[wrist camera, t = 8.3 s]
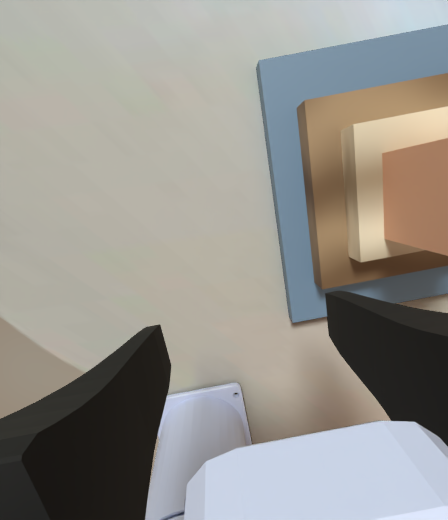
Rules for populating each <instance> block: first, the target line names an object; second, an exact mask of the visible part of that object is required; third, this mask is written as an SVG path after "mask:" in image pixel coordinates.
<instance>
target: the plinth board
mask: <svg viewBox="0 0 448 520" xmlns="http://www.w3.org/2000/svg"><path fill="white" fill-rule="evenodd" d="M256 70H257V78H258V85H259V93H260V101H261V108H262V116H263V123H264V131H265V138H266V146H267V153H268V161H269V168H270V176H271V183H272V191H273V199H274V206H275V214H276V221H277V229H278V236H279V244H280V251H281V259H282V266H283V274H284V281H285V289H286V297H287V304H288V312H289V317H290V319H291V321H292V322H293V323H295V322H300V321H305V320H311V319H316V318H321V317H326V316H327V309H326V298H325V293H328V292H333V291H339V290H340V291H346V292H351V293H355V294H359V295H363V296H366V297H370V298H374V299H378V300H382V301H385V302H390V303H394V304H395V303H400V302H405V301H410V300H416V299H421V298H426V297H431V296H437V295H442V294H447V293H448V256H446V255H442V254H439V253H435V252H431V251H427V250H424V249H420V248H416V247H413V246H409V245H405V244H401V243H398V242H394V241H390V240H386V239H384V206H383V169H382V153H385V152H389V151H394V150H398V149H402V148H407V147H411V146H415V145H419V144H424V143H428V142H432V141H437V140H441V139H445V138H448V25H443V26H438V27H432V28H427V29H422V30H417V31H411V32H406V33H401V34H396V35H390V36H385V37H380V38H374V39H369V40H364V41H359V42H353V43H348V44H343V45H338V46H332V47H327V48H322V49H317V50H311V51H306V52H301V53H296V54H290V55H285V56H280V57H275V58H269V59H264V60H259V62H258V64H257V67H256Z"/></svg>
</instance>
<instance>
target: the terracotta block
mask: <svg viewBox="0 0 448 520" xmlns="http://www.w3.org/2000/svg"><path fill="white" fill-rule="evenodd" d="M382 169H383V206H384V239H386V240H390V241H394V242H398V243H401V244H405V245H409V246H413V247H416V248H420V249H424V250H427V251H431V252H435V253H439V254H442V255H446V256H448V138H445V139H441V140H437V141H432V142H428V143H424V144H419V145H415V146H411V147H407V148H402V149H398V150H394V151H389V152H385V153H382Z"/></svg>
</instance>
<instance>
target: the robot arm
mask: <svg viewBox="0 0 448 520" xmlns="http://www.w3.org/2000/svg"><path fill="white" fill-rule="evenodd" d="M325 298H326V309H327V320H328V331H329V336H330V338H331V340H332V342H333V343H334V345H335V347H336V348H337V350H338V351H339V353H340V355H341V356H342V357H343V358H344V360H345V361H346V362H347V364H348V365H349V366H350V367H351V369H352V370H353V371H354V372H355V373H356V375H357V376H358V377H359V378H360V380H361V381H362V382H363V383H364V384H365V386H366V387H367V388H368V389H369V391H370V392H371V393H372V394H373V396H374V397H375V398H376V399H377V401H378V402H379V403H380V405H381V406H382V407H383V409H384V410H385V412H386V413H387V415H388V416H389V418H390V419H391V421H373V422H368V423H363V424H358V425H352V426H347V427H342V428H336V429H331V430H326V431H321V432H315V433H310V434H305V435H300V436H294V437H289V438H284V439H279V440H273V441H268V442H263V443H258V444H252V441H251V436H250V431H249V426H248V421H247V416H246V411H245V406H244V401H243V396H242V391H241V386H240V384H239V383H230V384H224V385H219V386H214V387H208V388H203V389H198V390H193V391H187V392H182V393H177V394H172V395H167V394H168V389H169V383H170V373H171V363H170V359H169V355H168V352H167V348H166V344H165V341H164V337H163V333H162V330H161V326H160V325H155V326H149V327H146V328H144V329H142V330H141V331H140V332H138V333H137V334H136V335H134V336H133V337H132V338H131V339H130V340H128V341H127V342H126V343H125V344H123V345H122V346H121V347H120V348H119V349H117V350H116V351H115V352H114V353H112V354H111V355H110V356H108V357H107V358H106V359H104V360H103V361H102V362H100V363H99V364H98V365H96V366H95V367H94V368H92V369H91V370H89V371H88V372H86V373H85V374H83V375H82V376H80V377H79V378H77V379H76V380H74V381H72V382H71V383H69V384H68V385H66V386H64V387H62V388H61V389H59V390H57V391H55V392H53V393H52V394H50V395H48V396H46V397H44V398H43V399H41V400H39V401H37V402H35V403H33V404H31V405H29V406H27V407H25V408H23V409H21V410H19V411H17V412H14V413H12V414H10V415H8V416H6V417H4V418H1V419H0V520H448V313H442V312H435V311H429V310H422V309H417V308H412V307H407V306H403V305H398V304H394V303H390V302H385V301H382V300H378V299H374V298H370V297H366V296H363V295H359V294H355V293H351V292H346V291H340V290H339V291H333V292H328V293H325ZM234 393H238V394H234ZM157 435H158V438H159V444H158V449H157V453H156V458H155V463H154V468H153V472H152V477H151V482H150V475H151V469H152V462H153V455H154V449H155V444H156V439H157ZM149 483H150V486H149Z"/></svg>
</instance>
